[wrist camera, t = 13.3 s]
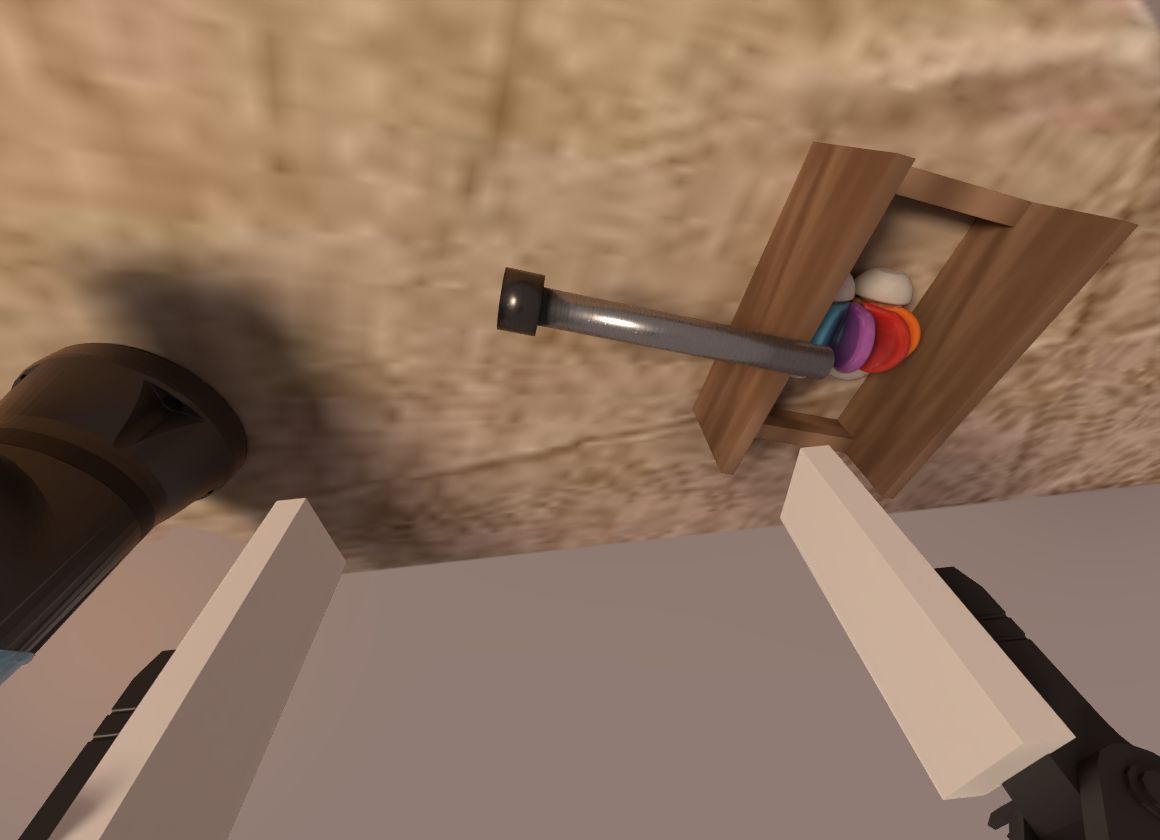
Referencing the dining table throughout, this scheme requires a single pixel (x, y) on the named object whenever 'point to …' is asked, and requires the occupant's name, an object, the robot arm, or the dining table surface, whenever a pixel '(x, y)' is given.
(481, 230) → the dining table surface
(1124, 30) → the dining table surface
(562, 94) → the dining table surface
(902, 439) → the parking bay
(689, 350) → the rod
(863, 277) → the rainbow disc toy
